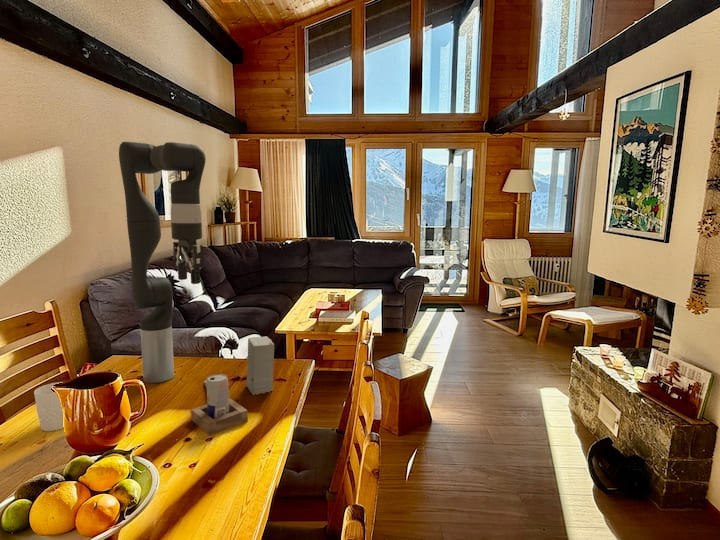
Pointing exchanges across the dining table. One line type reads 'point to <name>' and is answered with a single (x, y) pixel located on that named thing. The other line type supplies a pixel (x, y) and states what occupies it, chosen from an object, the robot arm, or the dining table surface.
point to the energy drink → (217, 395)
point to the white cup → (48, 408)
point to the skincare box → (260, 365)
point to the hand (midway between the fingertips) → (189, 281)
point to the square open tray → (219, 418)
